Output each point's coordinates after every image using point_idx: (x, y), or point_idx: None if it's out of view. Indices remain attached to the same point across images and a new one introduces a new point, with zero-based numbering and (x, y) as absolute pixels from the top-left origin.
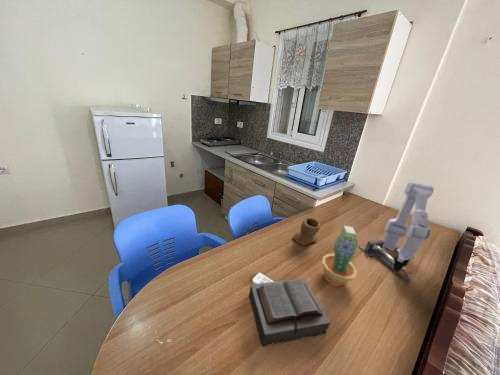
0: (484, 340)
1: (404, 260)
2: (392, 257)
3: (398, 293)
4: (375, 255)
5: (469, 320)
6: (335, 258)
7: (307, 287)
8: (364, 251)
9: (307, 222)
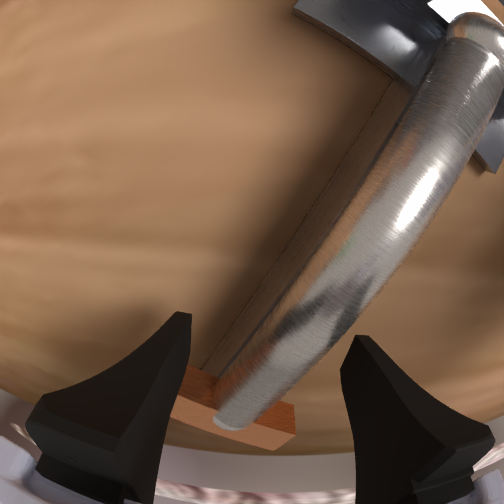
0: (163, 494)
1: (368, 421)
2: (378, 282)
3: (47, 335)
4: (382, 63)
5: (213, 492)
6: None
7: None
8: None
9: None
